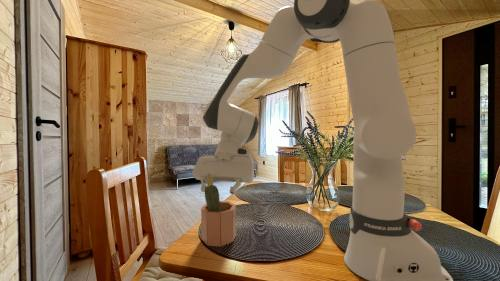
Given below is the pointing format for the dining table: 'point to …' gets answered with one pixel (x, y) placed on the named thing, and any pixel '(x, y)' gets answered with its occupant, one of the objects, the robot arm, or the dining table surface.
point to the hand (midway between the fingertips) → (217, 192)
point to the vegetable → (212, 196)
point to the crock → (219, 224)
